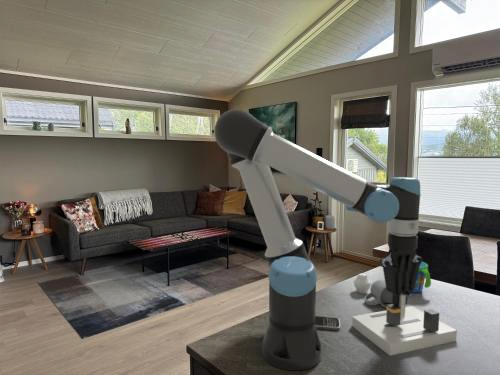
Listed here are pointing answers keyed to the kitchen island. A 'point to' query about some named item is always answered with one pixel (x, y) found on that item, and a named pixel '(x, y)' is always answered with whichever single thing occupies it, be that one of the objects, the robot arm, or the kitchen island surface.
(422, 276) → the snack cup
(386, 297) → the ceramic mug
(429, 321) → the block
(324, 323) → the cell phone
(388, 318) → the block
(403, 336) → the panel
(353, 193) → the robot arm
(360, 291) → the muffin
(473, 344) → the kitchen island surface
